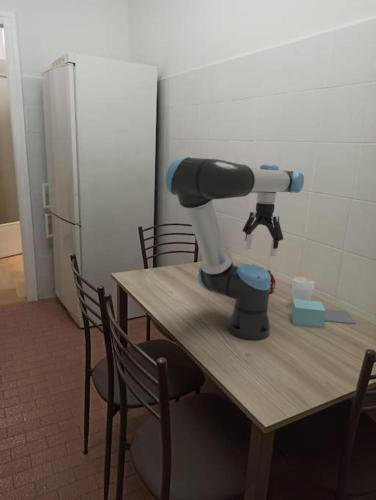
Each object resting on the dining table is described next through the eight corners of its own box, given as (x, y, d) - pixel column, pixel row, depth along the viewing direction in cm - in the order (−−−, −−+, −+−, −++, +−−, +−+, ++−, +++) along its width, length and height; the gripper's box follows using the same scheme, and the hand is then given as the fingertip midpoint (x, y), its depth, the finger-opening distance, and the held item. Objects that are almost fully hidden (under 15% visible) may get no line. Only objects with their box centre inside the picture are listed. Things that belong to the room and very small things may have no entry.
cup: (308, 303, 159) (311, 277, 156) (313, 311, 150) (317, 284, 147) (287, 301, 160) (290, 275, 157) (291, 310, 151) (294, 282, 148)
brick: (323, 327, 136) (325, 310, 135) (293, 324, 138) (295, 307, 136) (318, 318, 145) (321, 301, 143) (290, 314, 147) (292, 298, 145)
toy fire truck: (276, 294, 168) (279, 273, 166) (250, 294, 167) (252, 272, 164) (272, 288, 175) (274, 268, 172) (247, 288, 174) (248, 268, 171)
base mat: (356, 324, 141) (356, 323, 140) (324, 321, 142) (324, 320, 142) (346, 311, 152) (346, 310, 152) (317, 309, 153) (317, 308, 153)
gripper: (296, 206, 143) (289, 258, 148) (249, 199, 162) (244, 245, 167) (284, 206, 139) (278, 260, 143) (237, 199, 157) (233, 246, 162)
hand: (260, 252), depth 155 cm, fingers open, 13 cm apart
